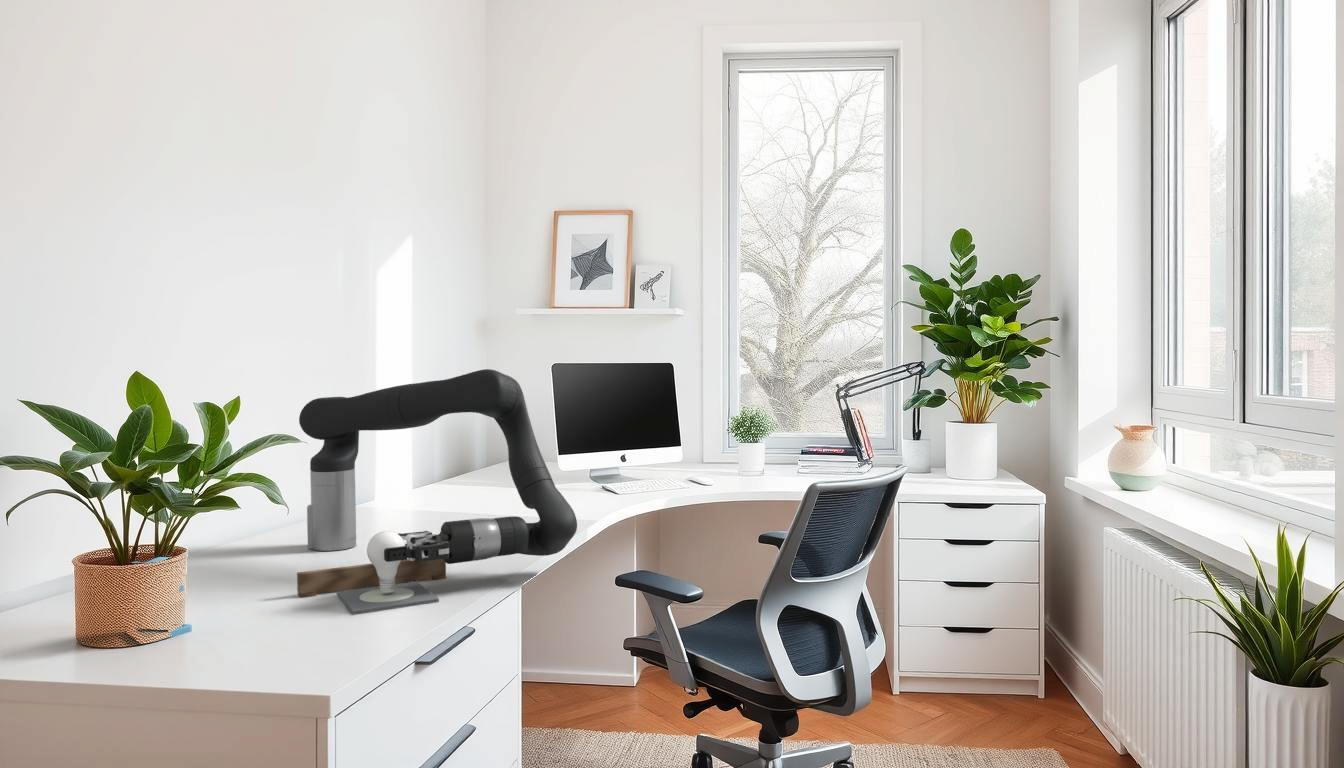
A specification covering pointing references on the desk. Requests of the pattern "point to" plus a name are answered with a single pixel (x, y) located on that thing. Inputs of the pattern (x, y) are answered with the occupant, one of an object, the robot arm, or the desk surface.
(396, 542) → the lightbulb
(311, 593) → the walnut fence
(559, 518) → the robot arm
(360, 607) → the mat
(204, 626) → the desk surface
